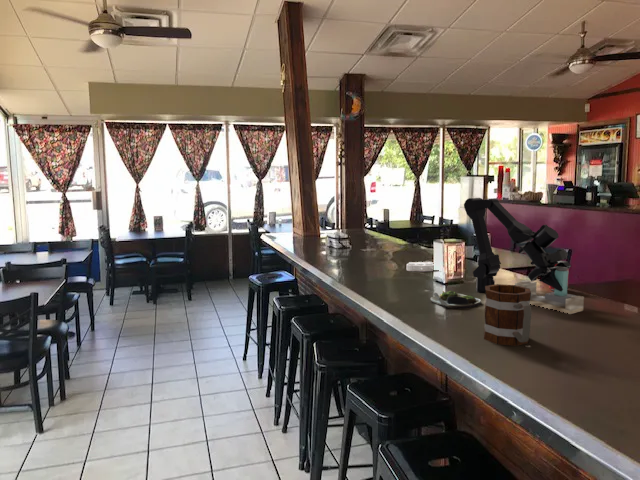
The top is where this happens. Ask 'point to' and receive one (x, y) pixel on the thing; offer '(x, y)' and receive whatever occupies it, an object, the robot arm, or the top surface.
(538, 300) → the rail track
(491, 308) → the mug
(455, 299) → the salad plate
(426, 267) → the white rectangular slab
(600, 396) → the top surface
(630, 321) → the top surface
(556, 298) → the carriage
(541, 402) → the top surface
